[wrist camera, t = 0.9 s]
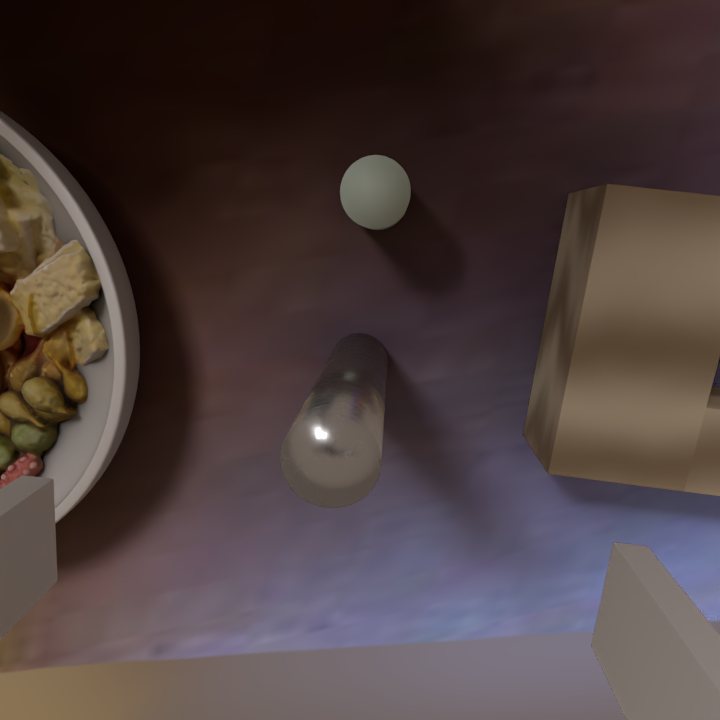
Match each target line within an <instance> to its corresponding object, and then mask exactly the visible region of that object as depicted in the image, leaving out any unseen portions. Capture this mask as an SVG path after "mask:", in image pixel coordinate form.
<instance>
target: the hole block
mask: <svg viewBox="0 0 720 720" xmlns="http://www.w3.org/2000/svg"><path fill="white" fill-rule="evenodd" d="M719 358H720V196H715V195H705V194H696V193H687V192H678V191H669V190H660V189H651V188H642V187H632V186H623V185H614V184H604V185H600V186H596V187H593V188H589V189H585V190H581V191H577V192H573V193H569V195H568V200H567V205H566V211H565V216H564V221H563V226H562V232H561V237H560V242H559V247H558V253H557V258H556V263H555V268H554V274H553V279H552V284H551V290H550V295H549V300H548V305H547V311H546V316H545V321H544V326H543V332H542V337H541V342H540V347H539V353H538V358H537V363H536V369H535V374H534V379H533V384H532V390H531V395H530V400H529V405H528V411H527V416H526V421H525V426H524V432H523V436H524V437H525V439H526V440H527V442H528V443H529V445H530V447H531V448H532V450H533V451H534V453H535V454H536V456H537V457H538V459H539V461H540V462H541V464H542V465H543V467H544V468H545V470H546V471H547V473H548V474H553V475H560V476H568V477H576V478H583V479H591V480H599V481H606V482H614V483H622V484H630V485H637V486H645V487H653V488H660V489H668V490H676V491H683V492H691V493H699V494H707V495H714V496H720V387H718V386H712V384H713V380H714V377H715V373H716V369H717V365H718V362H719Z"/></svg>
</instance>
